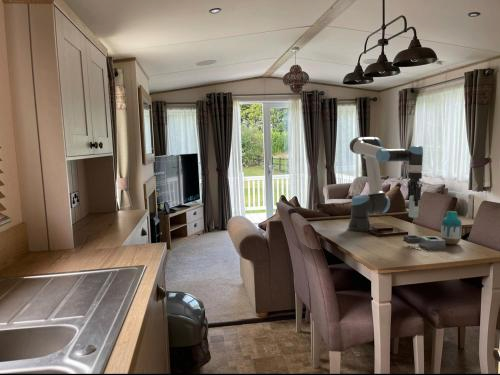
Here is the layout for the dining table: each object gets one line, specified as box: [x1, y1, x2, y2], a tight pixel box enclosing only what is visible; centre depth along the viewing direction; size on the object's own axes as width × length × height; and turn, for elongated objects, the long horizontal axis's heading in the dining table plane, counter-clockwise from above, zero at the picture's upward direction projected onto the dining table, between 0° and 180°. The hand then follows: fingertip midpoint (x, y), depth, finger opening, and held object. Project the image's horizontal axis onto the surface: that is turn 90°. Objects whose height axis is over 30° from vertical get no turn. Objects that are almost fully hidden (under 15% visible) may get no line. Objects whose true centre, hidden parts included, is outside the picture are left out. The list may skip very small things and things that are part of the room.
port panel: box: [418, 235, 446, 250], centre depth 222 cm, size 10×10×6 cm
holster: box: [403, 234, 420, 244], centre depth 236 cm, size 8×8×2 cm
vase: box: [440, 210, 463, 245], centre depth 227 cm, size 11×11×19 cm
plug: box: [408, 195, 420, 219], centre depth 233 cm, size 4×4×13 cm
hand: (413, 210), depth 234 cm, fingers closed on plug, 4 cm apart
